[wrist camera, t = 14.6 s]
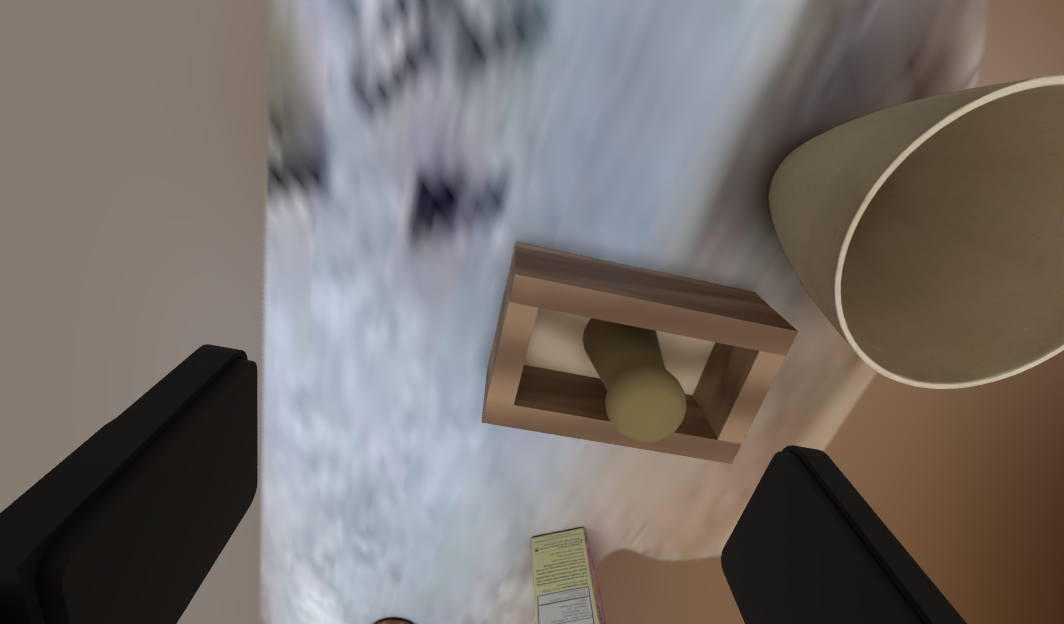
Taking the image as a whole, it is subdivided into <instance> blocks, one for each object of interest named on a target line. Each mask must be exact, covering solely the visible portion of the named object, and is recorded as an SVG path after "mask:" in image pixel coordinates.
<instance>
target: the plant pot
mask: <svg viewBox="0 0 1064 624" xmlns="http://www.w3.org/2000/svg"><path fill="white" fill-rule="evenodd" d="M768 198H769V208H770V213H771V217H772V221H773V224H774V227H775V230H776V233H777V236H778V238H779V241H780V243H781V246H782V248H783V250H784V252H785V254H786V256H787V258H788V260H789V262H790V264H791V266H792V268H793V270H794V271H795V273H796V275H797V276H798V278H799V280H800V281H801V283H802V284H803V286H804V288H805V289H806V291H807V292H808V293H809V295H810V296H811V298H812V299H813V301H814V302H815V303H816V305H817V306H818V307H819V309H820V310H821V311H822V312H823V314H824V315H825V316H826V317H827V319H828V320H829V321H830V322H831V324H832V325H833V326H834V327H835V329H836V330H837V331H838V332H839V333H840V335H841V336H842V337H843V338H844V339H845V341H846V342H847V343H848V344H849V345H850V347H851V348H852V349H853V350H854V351H855V352H856V354H857V355H858V356H859V357H860V358H861V359H862V360H863V361H864V362H865V363H866V364H868V365H869V366H870V367H871V368H873V369H874V370H876V371H877V372H879V373H880V374H882V375H884V376H886V377H888V378H890V379H893V380H895V381H898V382H901V383H905V384H908V385H912V386H917V387H923V388H934V389H953V388H964V387H971V386H976V385H981V384H985V383H989V382H993V381H997V380H1000V379H1003V378H1006V377H1009V376H1013V375H1015V374H1018V373H1020V372H1023V371H1025V370H1027V369H1029V368H1032V367H1034V366H1036V365H1038V364H1040V363H1042V362H1043V361H1045V360H1047V359H1049V358H1051V357H1053V356H1054V355H1056V354H1058V353H1059V352H1061V351H1063V350H1064V75H1057V76H1048V77H1041V78H1035V79H1028V80H1021V81H1014V82H1008V83H1001V84H996V85H990V86H984V87H978V88H972V89H967V90H961V91H956V92H951V93H946V94H941V95H937V96H932V97H928V98H924V99H919V100H915V101H911V102H908V103H904V104H901V105H897V106H893V107H890V108H887V109H883V110H880V111H877V112H874V113H871V114H868V115H865V116H862V117H859V118H857V119H854V120H851V121H849V122H846V123H844V124H842V125H839V126H837V127H835V128H832V129H830V130H828V131H826V132H824V133H822V134H820V135H818V136H816V137H814V138H812V139H810V140H808V141H807V142H805V143H803V144H802V145H800V146H799V147H797V148H796V149H794V150H793V151H792V152H791V153H790V154H788V155H787V156H786V158H785V159H784V160H783V161H782V162H781V164H780V165H779V167H778V168H777V170H776V172H775V174H774V176H773V178H772V181H771V184H770V189H769V196H768Z"/></svg>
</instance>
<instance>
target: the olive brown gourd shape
mask: <svg viewBox="0 0 1064 624" xmlns="http://www.w3.org/2000/svg"><path fill="white" fill-rule="evenodd" d="M583 345H584V349H585V351H586V353H587V355H588V357H589V359H590V360H591V362H592V364H593V366H594V368H595V369H596V371H597V373H598V375H599V377H600V379H601V380H602V382H603V384H604V386H605V388H606V390H607V394H606V400H605V404H606V411H607V415H608V418H609V420H610V422H611V423H612V425H613V427H614V428H615V429H616V430H617V431H618V432H619V433H620V434H622V435H623V436H624V437H626V438H629V439H631V440H634V441H637V442H645V443H649V442H655V441H659V440H661V439H664V438H666V437H668V436H669V435H671V434H672V433H673V432H675V431H676V430H677V428H678V427H679V426H680V424H681V423H682V421H683V419H684V416H685V412H686V396H685V392H684V390H683V388H682V386H681V384H680V383H679V381H678V379H676V378H675V377H674V376H673V375H672V374H671V373H670V372H669V371H667V370H666V368H665V364H664V360H663V356H662V353H661V349H660V345H659V341H658V337H657V333H656V331H655V330H650V329H645V328H640V327H635V326H630V325H625V324H620V323H614V322H609V321H604V320H599V319H594V318H591V319H590V320H589V322H588V324H587V325H586V327H585V329H584V334H583Z"/></svg>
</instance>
